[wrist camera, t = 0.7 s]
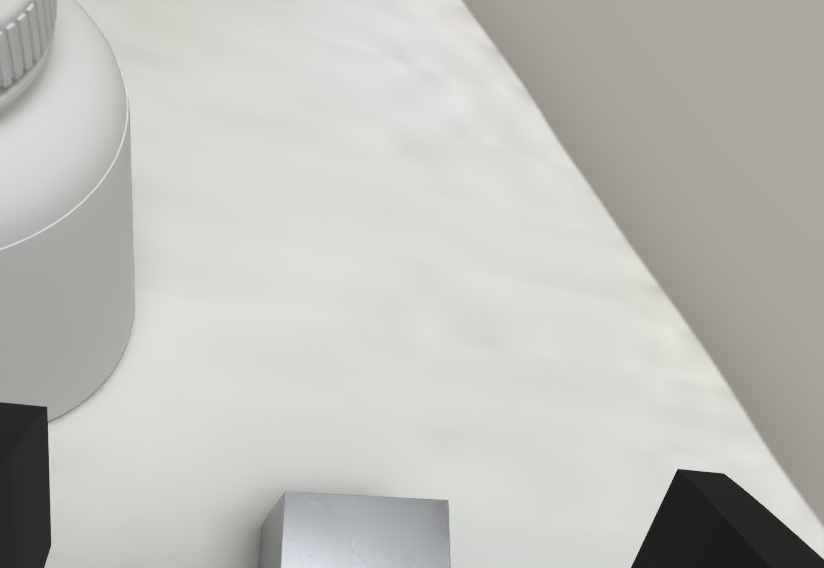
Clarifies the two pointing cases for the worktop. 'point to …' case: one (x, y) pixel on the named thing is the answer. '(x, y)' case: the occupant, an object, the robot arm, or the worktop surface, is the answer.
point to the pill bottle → (62, 206)
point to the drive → (355, 532)
